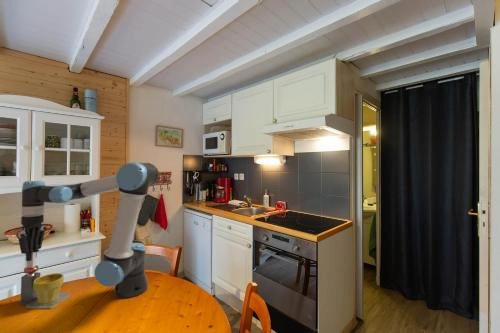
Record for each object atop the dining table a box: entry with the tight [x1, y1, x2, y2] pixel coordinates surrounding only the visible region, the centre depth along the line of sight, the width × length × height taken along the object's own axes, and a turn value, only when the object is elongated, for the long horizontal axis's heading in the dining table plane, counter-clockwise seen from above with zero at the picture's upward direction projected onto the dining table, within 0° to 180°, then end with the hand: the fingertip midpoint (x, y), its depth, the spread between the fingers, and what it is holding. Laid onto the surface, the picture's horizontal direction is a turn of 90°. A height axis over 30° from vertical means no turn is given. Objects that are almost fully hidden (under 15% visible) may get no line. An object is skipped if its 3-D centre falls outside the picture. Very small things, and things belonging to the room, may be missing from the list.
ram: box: [23, 265, 39, 276], centre depth 108 cm, size 5×5×13 cm
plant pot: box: [33, 273, 65, 304], centre depth 107 cm, size 10×10×10 cm
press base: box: [18, 271, 71, 310], centre depth 108 cm, size 16×11×12 cm, turn 91°
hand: (31, 266), depth 108 cm, fingers closed
